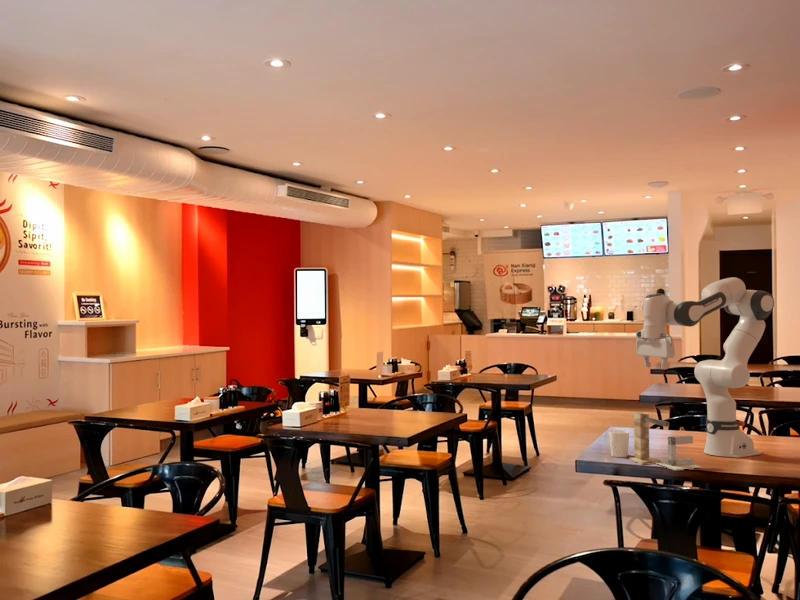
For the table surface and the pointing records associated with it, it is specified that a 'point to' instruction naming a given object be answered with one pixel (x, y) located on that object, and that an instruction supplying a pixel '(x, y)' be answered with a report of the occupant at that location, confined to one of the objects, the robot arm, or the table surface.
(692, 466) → the mat
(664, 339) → the robot arm
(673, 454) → the c link
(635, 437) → the stand
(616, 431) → the white cup
